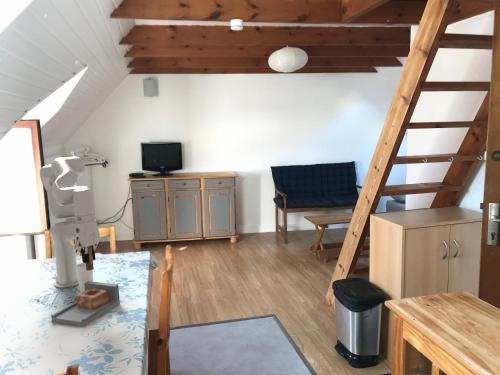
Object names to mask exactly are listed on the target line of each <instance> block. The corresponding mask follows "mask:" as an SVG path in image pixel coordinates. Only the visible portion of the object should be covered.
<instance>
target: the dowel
mask: <svg viewBox="0 0 500 375" xmlns="http://www.w3.org/2000/svg"><path fill="white" fill-rule="evenodd" d="M87 251H88V253H89V261H90V262H89V263H86V270H87V271H90V270H93V271H94V270H95V268H94V260H93V256H92V245H91V246H89V247H87Z"/></svg>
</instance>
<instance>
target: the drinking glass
mask: <svg viewBox="0 0 500 375" xmlns="http://www.w3.org/2000/svg"><path fill="white" fill-rule="evenodd" d="M76 268H77V277H78V282H79V284H78V286H79V291H80V294H81V293H82V292H84V291H85V286H84V283H86V282H88V281H91V282H94V274H93V272H94V269H93V270H90V271H87V270H86V263H83V262H81V263H77V266H76Z"/></svg>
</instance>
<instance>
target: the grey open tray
mask: <svg viewBox="0 0 500 375" xmlns="http://www.w3.org/2000/svg"><path fill="white" fill-rule="evenodd" d="M84 286H85V291H86V290H88V289H90V288H97V289H106V290H108V293H109V301H108V302H106V303H105V304H103V305H101V306H100V307H98V308H97V309H88V308H80V307H77V300H76V301H75V302H73V303H71V304H69V305H67V306H66V307H63V308H61V309H60V310H58V311H57V312H55V313H52V314H51V316H50V318H51V322H52V323H54V324H60V325H68V326H74V327H82V328H86V327H87V326H89V325H91V324H92V323H93V322H95V321H96V320H97V319H99V318H101V317H103V316H104V315H106V314H107V313H109V312H110V311H112V310H113V309H115V308H117V306H119V305H120V304H121V301H120V289H119V284H118V283H107V282H98V281H93V282H91V281H88V282H86V283H84Z"/></svg>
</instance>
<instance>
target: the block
mask: <svg viewBox="0 0 500 375" xmlns="http://www.w3.org/2000/svg"><path fill="white" fill-rule="evenodd" d="M76 301H77V307H80V308H88V309H97V308H98V307H100V306H101V305H103V304H105V303H106V302H108V301H109V293H108V290H106V289H97V288H90V289H88V290H86V291H84V292H82V293H81V292H80V293H79V294H77V295H76Z"/></svg>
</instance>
